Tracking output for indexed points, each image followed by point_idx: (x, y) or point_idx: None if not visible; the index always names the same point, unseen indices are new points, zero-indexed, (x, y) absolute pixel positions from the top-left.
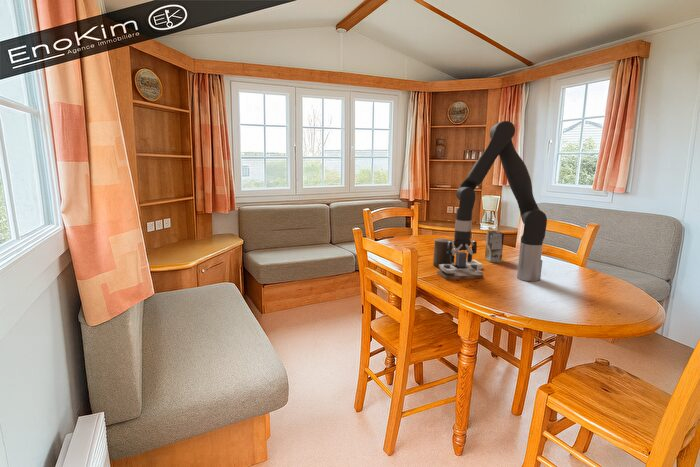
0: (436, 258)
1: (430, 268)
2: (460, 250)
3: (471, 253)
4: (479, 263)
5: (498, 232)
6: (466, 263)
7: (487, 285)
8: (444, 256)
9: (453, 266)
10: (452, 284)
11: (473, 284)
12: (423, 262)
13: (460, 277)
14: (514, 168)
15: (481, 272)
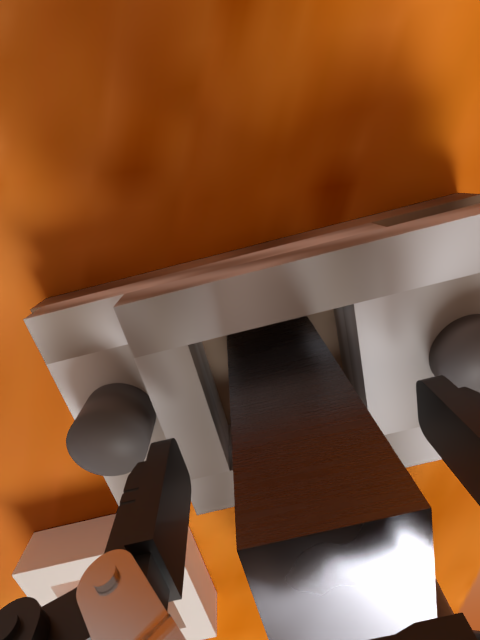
0: (447, 605)
1: (465, 490)
2: (435, 623)
3: (111, 581)
4: (40, 588)
5: None
6: None
7: (17, 9)
8: None
9: (371, 387)
10: (444, 14)
11: (188, 39)
12: (460, 599)
13: (296, 238)
14: None
15: (42, 312)
